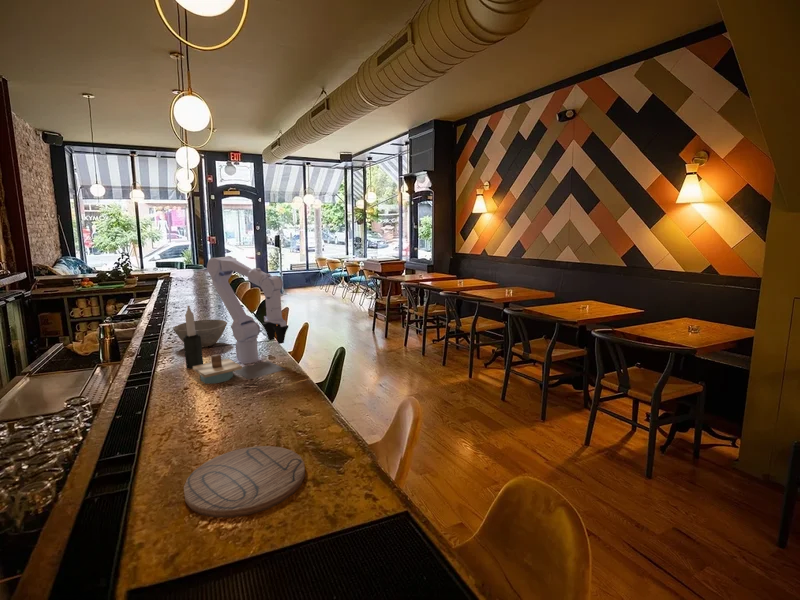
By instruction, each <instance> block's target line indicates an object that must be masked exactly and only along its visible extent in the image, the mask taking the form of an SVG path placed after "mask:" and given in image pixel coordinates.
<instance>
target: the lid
mask: <svg viewBox="0 0 800 600" xmlns="http://www.w3.org/2000/svg"><path fill="white" fill-rule="evenodd" d="M210 357H211V362H206V363H203V364H201V365H197V366H192V367H193V369H192V370H193V371H194V372H196V373H197V374H199V376H200V375H202V376H203V377H204V378H206V377H210V376H215V375H219V374H223V373H227V372H231V371H233V372H234V371H236V370H240V369H242V367H243V366H242V365H241V364H239V363H238V362H235V361H233V360H232V359H230V358H225V359H222V355H221V354H219V353H218V354H212V355H211V356H210Z"/></svg>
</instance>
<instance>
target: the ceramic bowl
mask: <svg viewBox="0 0 800 600" xmlns="http://www.w3.org/2000/svg"><path fill="white" fill-rule="evenodd" d="M194 323H195V332H196V334H198V335H200V337H201V346H202V348H207V347H208V346H209V347H211V346H213V345H215V344H217V342H218V341H219V340H220V338H221V337H222V335H223V334H224V331H225V330H226V328H227V325H228V321H226V320H222V319H201V320H194ZM172 330H173V332H175V335H176V336H177V337H178V338H179V340H180V341H181V342H182V343H184V341H183V338H184V337H185V335H187V327H186V322H183V323H180V324H177V325H175V326H173V328H172Z"/></svg>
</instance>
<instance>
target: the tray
mask: <svg viewBox="0 0 800 600" xmlns="http://www.w3.org/2000/svg"><path fill="white" fill-rule="evenodd" d="M286 370H287V369H286V368H284V367H282V366H281V365H277V364H276V363H273V362H272V361H269V360H266V361H262V362H258V363H255V364H251V365H246V366H242V369H240V370H236V371H233V372H234V373H236V374H237V375H239V376H241V377H243V378H245V379H246V380H251V379H255V378H259V377H264V376H267V375H270V374H271V375H272V374H275V373H278V372H281V371H282V372H283V371H286Z"/></svg>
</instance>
